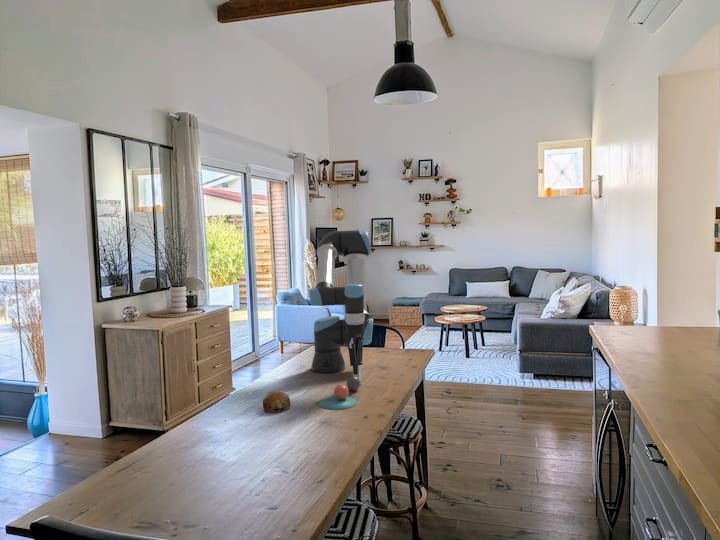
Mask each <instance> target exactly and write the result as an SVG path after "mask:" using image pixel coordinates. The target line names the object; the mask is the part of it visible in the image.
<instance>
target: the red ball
mask: <svg viewBox="0 0 720 540" xmlns="http://www.w3.org/2000/svg"><path fill="white" fill-rule="evenodd" d="M333 395H334V396H333V397H336V398H337V399H338V400H344V399H346V398H347V397H349V389H348V388H347V385H345V384H338V385H337V386H336V387H335V388H334V389H333Z"/></svg>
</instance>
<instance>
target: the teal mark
mask: <svg viewBox="0 0 720 540" xmlns="http://www.w3.org/2000/svg"><path fill="white" fill-rule="evenodd" d="M354 405H355V406H356V405H358V400H357V399H356V398H354V397H350V396H348V397H347V398H346V399H344V400H338V399H337V398H336V397H335V396H331V397H325V398H323V399H320V401H318V406H319V408H322V409H326V410H333V411H334V410H335V411H336V410H338V409H339V410H346V409H345V408H347V409H351V408H354V407H355V406H354Z"/></svg>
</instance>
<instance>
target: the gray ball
mask: <svg viewBox="0 0 720 540" xmlns="http://www.w3.org/2000/svg"><path fill="white" fill-rule="evenodd" d="M345 386H346V387H347V388H348V391H349V390H350V391H357V390H359V388H360V387H361V382H360V380H359V379H358V378H357V377H355V376H353V375H352V376H350V377H348V378H347V379H346V382H345Z"/></svg>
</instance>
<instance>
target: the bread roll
mask: <svg viewBox="0 0 720 540" xmlns="http://www.w3.org/2000/svg"><path fill="white" fill-rule="evenodd" d="M290 408H291V399H290V396H289V395H288V394H287V393H286V392H284V391H280V390H274V391H269V392H268V394H266V396H265V397H263V399H262V409H263V412H265V413H269V414H276V413H278V412H279V413H282V411H283V412H285V411H287V410H288V409H290ZM279 413H278V414H279Z"/></svg>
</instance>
